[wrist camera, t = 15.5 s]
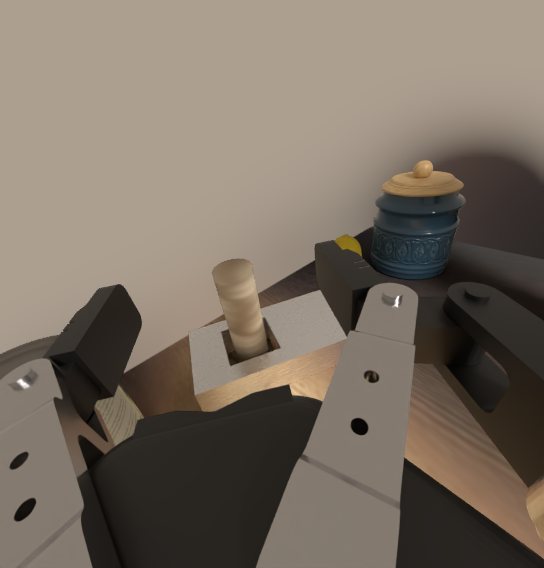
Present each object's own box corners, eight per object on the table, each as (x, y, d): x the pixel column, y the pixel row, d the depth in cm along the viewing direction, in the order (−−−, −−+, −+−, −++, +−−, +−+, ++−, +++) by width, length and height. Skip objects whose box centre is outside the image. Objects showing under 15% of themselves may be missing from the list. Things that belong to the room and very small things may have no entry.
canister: (355, 259, 51) (360, 165, 42) (404, 242, 55) (419, 151, 45) (408, 290, 41) (431, 174, 32) (464, 266, 45) (500, 155, 35)
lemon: (341, 286, 44) (342, 244, 40) (323, 273, 49) (322, 234, 44) (366, 277, 46) (370, 235, 41) (347, 264, 50) (348, 226, 46)
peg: (264, 346, 35) (246, 255, 27) (274, 368, 32) (256, 271, 24) (236, 356, 34) (209, 265, 26) (243, 379, 31) (215, 283, 23)
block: (358, 298, 41) (359, 277, 39) (404, 338, 33) (409, 315, 31) (197, 352, 36) (188, 331, 33) (205, 417, 27) (194, 395, 25)
